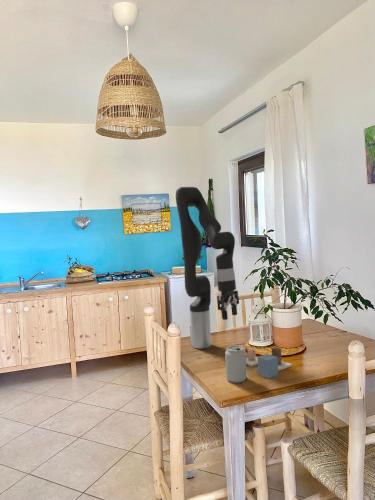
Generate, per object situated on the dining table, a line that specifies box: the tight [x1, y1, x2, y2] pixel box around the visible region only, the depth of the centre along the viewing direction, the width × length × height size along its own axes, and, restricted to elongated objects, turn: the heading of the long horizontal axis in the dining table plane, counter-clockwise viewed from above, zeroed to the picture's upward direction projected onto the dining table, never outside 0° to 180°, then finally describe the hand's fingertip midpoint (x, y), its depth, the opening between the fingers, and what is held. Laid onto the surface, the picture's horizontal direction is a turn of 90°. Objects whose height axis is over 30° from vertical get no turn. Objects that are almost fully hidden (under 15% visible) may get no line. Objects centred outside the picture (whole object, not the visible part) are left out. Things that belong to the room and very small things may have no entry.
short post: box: [246, 348, 258, 367], centre depth 162 cm, size 7×7×5 cm
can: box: [224, 345, 248, 384], centre depth 144 cm, size 8×8×12 cm
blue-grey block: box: [257, 353, 279, 380], centre depth 147 cm, size 5×5×7 cm
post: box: [271, 346, 293, 372], centre depth 156 cm, size 8×8×7 cm
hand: (229, 317), depth 166 cm, fingers open, 8 cm apart
